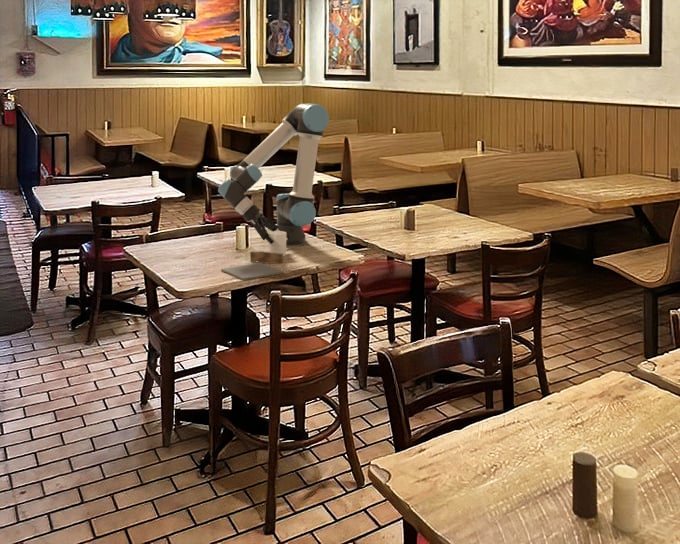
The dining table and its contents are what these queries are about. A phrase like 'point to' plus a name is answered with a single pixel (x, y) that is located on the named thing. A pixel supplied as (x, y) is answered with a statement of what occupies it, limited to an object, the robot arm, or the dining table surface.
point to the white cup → (281, 239)
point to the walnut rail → (266, 257)
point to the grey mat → (251, 271)
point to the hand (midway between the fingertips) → (282, 244)
